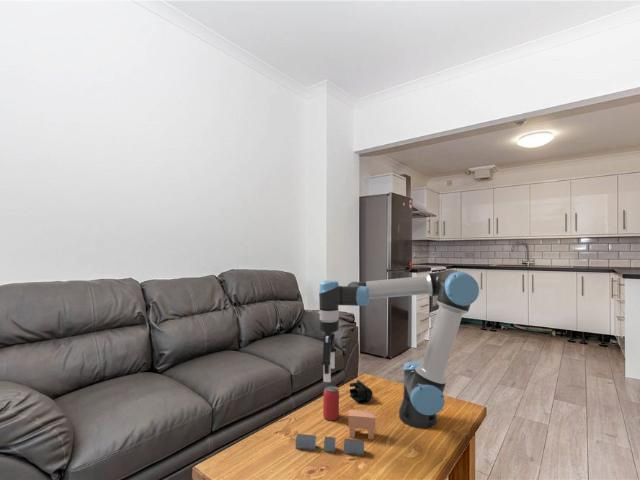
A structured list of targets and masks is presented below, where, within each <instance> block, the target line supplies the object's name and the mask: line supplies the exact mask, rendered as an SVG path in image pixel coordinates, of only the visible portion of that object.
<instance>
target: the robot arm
mask: <svg viewBox="0 0 640 480" xmlns="http://www.w3.org/2000/svg"><path fill="white" fill-rule="evenodd" d="M318 290H319V291H318V297H319V299H318V300H319V301H318V303H319V304H318V305H319V306H318V307H319V310H318V311H317V314H319V331H320V332H323V333H324V335H323V349H322V362H320V364H321V365H322V370H323V373H322V374H323V376H322V377H323V379H322V380H323V383H331V382H332V379H331V378H332V377H331V376H332V370H334V369H335V368H336V367H335V366H336V365H335V364H336V363H335V354H336V353H335V352H337V348H336V346H335V345H336V344H335V338H336V337H335V333H336V332H338V330H340V329H339V314H340V313H339V306H350V307H351V306H358V307H364V306H368V305H369V303H370V300H372V299H373V300H374V299H383V298H395V297H407V296H419V295H428V296H429V297H437V298H436V303H437V305H438V310H437V312H436V316H435V319H434V322H433V324H432V329H431V331H430V334H429V337H428V338H429V339H428V342H427V345H426V348H425V351H424V354H423V357H422V361H407V362H405V363H404V364H403V369H402V370H403V398H402V401H401V404H400V407H399V410H398V417H399V420H400V421H401V422H402V423H404V424H406V425H408V426H410V427H414V428H419V429H429V427H430V428H433V427H435V426H436V424H437V421H438V420H437V419H438V418H437V414H438V413H440V412H441V411H442V410H443V408H444V406H445V395H444V391H445V388H446V384H447V379H446V377H445V372H446V369H447V366H448V363H449V360H450V356H451V354H452V353H451V352H452V351H453V348H454V347H453V346H454V343H455V340H456V337H457V334H458V331H459V327H460V326H461V321H462V318H463V315H464V314H467V313H469V311H470V308H471V305H472V304H473V303H474V302H475V301H476V300H477V299H478V297H479V295H480V287H479V284H478V282H477V279H475V278H474V277H473V276H472V275H470V274H469V273H467V272H464V271H460V270H455V269H447V270H440V271H435V272H427V273H426V274H425V275H422V276H421V275H420V276H413V277H412V276H411V277H400V278H399V277H398V278H391V279H389V278H388V279H380V280H379V279H377V280H368V281H367V280H366V281H351V282H349V283H348V284H347V285H346V286H345V285H339V281H337V280H322V281H321V282H320V283H319V289H318ZM432 426H433V427H432Z"/></svg>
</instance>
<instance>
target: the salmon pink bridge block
mask: <svg viewBox="0 0 640 480" xmlns="http://www.w3.org/2000/svg"><path fill="white" fill-rule="evenodd" d="M347 419H348V423H347V425H348V429H349V438H355V437H356V429H358V430H359V429H360V430H367V431H368V432H367V433H368V434H367V436H368V438H367V439H368V440H374V438H375V436H374V435H375V432H374V431H376V412H375V411H368V410H367V411H366V410H355V409H349V410H348V418H347Z"/></svg>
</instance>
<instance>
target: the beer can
mask: <svg viewBox="0 0 640 480" xmlns="http://www.w3.org/2000/svg"><path fill="white" fill-rule="evenodd" d="M322 404H323V409H322V410H323V411H322V412H323V413H322V414H323V415H322V416H323V418H324V419H325V420H327V421H335V420H337V419H338V418H339V416H340V391H339V387H337V386H336V385H327V386H325V387H324V390H323V403H322Z"/></svg>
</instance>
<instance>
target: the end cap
mask: <svg viewBox="0 0 640 480" xmlns="http://www.w3.org/2000/svg"><path fill="white" fill-rule="evenodd" d="M349 387H350V388H351V389H349V396H350V398H352V399H353V401H355V403H356V404H358V405H361V404H366V403H368V402H369V401H371V399H372V398H373V391H372V389H371V388H369V387H368V386H367V385H366V384H364V383H363V382H362V381H361V380H356V382H352V383H351V382H350V383H349ZM352 387H354V388H352Z"/></svg>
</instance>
